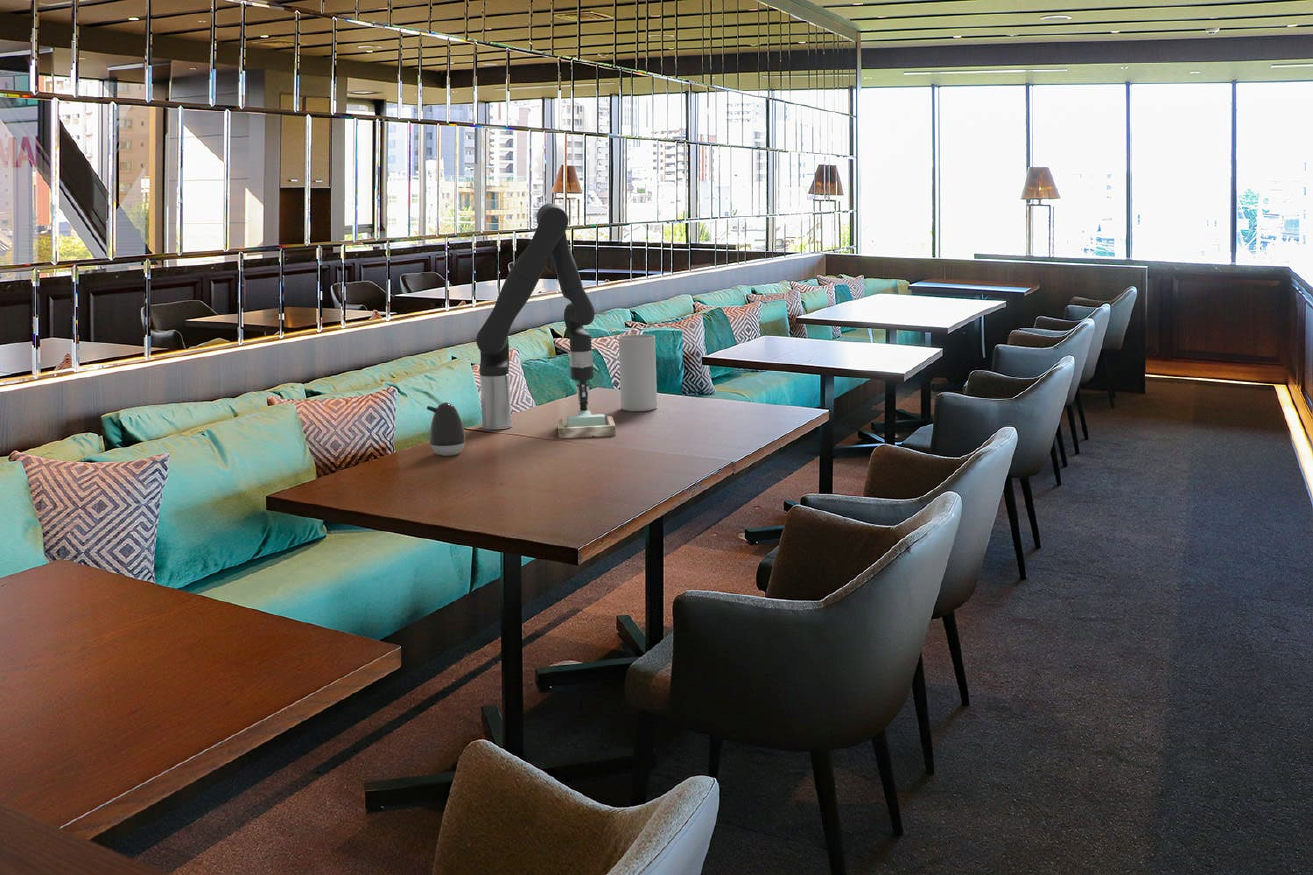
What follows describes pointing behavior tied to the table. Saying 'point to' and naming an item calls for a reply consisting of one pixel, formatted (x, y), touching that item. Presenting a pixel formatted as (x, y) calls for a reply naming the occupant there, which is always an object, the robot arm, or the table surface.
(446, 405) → the pump dispenser
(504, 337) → the robot arm
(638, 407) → the cylinder vase
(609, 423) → the shallow wooden tray
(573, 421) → the t block
